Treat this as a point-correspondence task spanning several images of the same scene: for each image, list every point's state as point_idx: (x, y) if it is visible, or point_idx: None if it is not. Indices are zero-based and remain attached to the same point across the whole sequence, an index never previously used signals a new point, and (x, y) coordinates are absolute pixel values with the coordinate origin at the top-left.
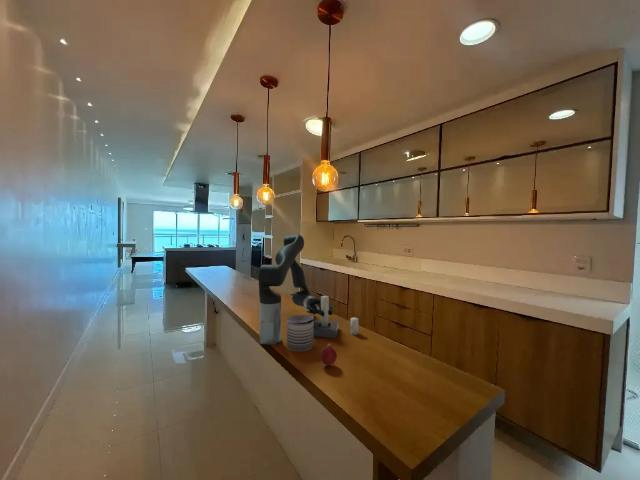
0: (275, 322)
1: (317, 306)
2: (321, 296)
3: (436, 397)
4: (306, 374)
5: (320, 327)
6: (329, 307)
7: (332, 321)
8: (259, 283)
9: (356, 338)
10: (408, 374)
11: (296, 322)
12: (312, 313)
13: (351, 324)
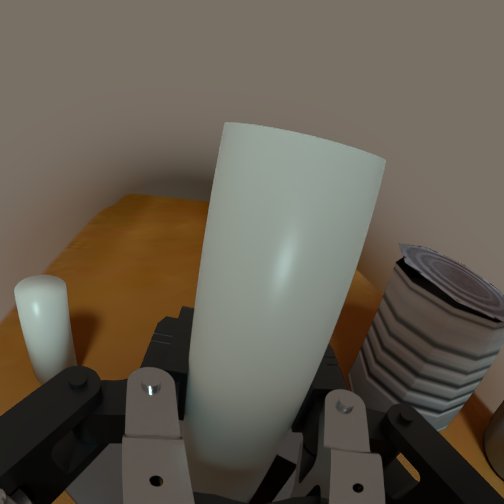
0: None
1: (354, 492)
2: (378, 157)
3: (200, 210)
4: (375, 288)
5: (286, 440)
6: (74, 424)
7: (83, 496)
8: None
9: (107, 336)
10: (182, 225)
11: (460, 265)
12: (400, 467)
13: (67, 325)
